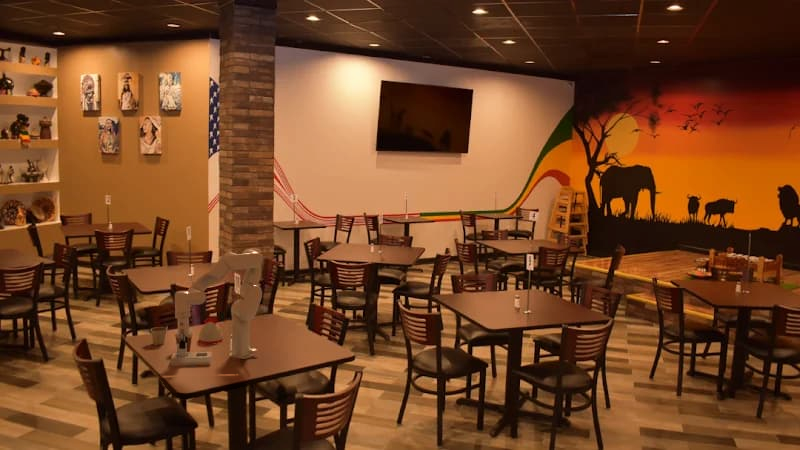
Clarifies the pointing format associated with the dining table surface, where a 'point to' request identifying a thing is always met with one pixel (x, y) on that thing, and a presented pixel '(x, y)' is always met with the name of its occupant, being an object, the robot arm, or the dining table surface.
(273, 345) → the dining table surface
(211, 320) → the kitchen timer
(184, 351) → the plug
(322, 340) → the dining table surface
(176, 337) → the disposable coffee cup
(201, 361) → the panel
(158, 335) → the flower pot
